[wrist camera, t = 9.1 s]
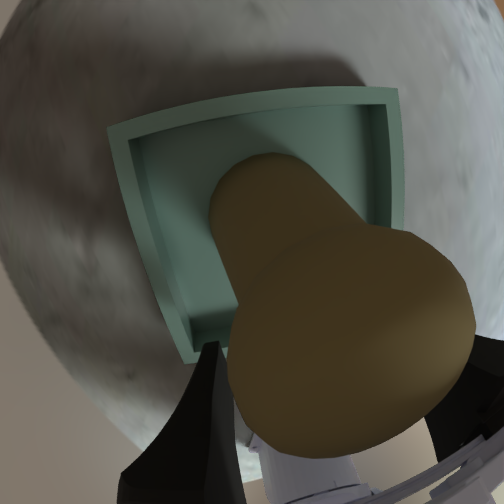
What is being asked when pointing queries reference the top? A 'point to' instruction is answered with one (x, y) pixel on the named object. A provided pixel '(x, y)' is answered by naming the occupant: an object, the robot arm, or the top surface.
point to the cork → (331, 313)
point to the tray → (221, 160)
